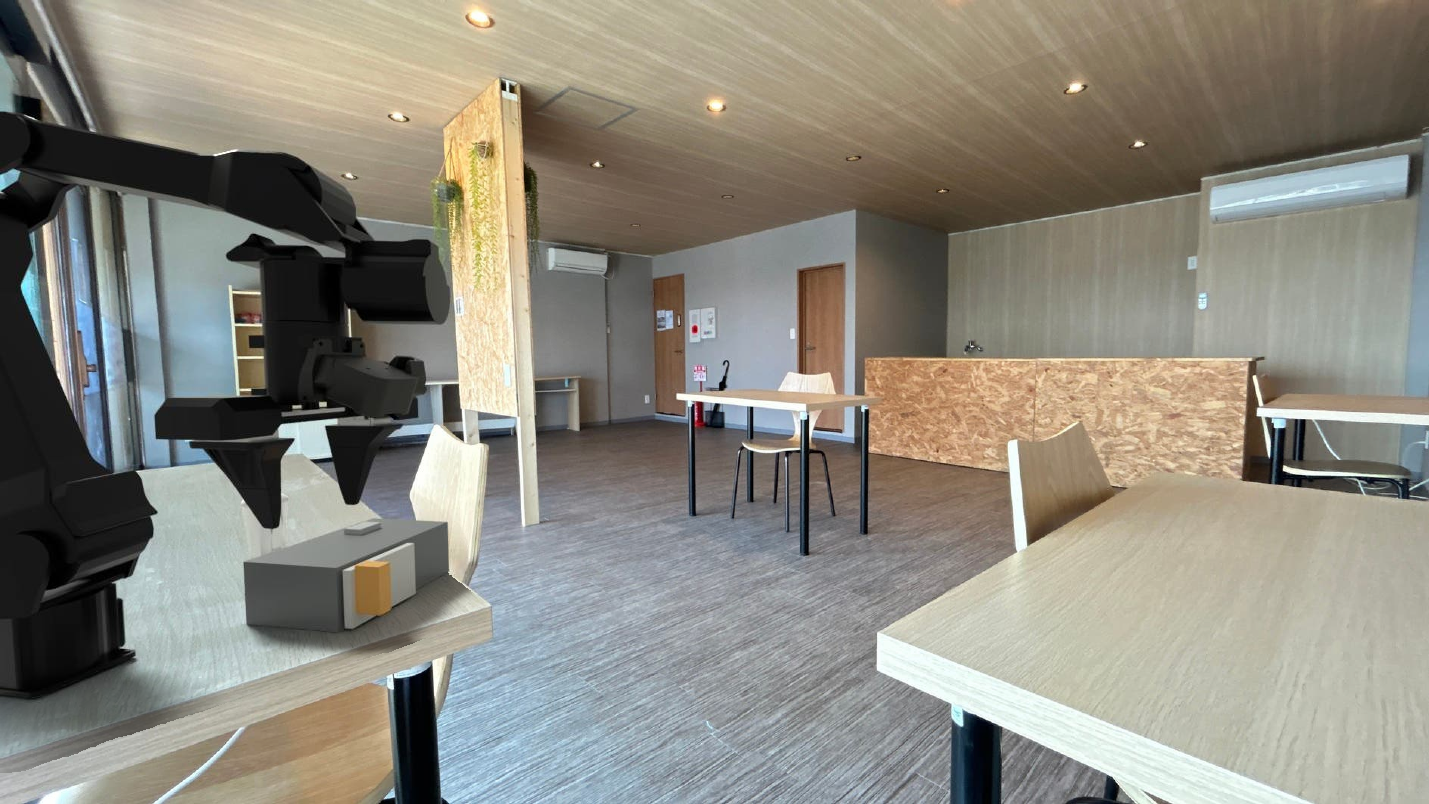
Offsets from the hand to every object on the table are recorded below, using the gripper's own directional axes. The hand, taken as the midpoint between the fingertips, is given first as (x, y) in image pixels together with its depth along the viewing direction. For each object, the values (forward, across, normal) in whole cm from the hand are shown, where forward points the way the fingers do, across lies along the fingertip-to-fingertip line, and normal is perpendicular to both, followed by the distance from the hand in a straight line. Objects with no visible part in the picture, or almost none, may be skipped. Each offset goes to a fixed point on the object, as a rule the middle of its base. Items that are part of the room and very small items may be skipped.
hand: (314, 515), depth 47 cm
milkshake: (+12, +18, +25) cm, 34 cm away
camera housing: (+12, +12, +7) cm, 19 cm away
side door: (+12, +9, 0) cm, 15 cm away
